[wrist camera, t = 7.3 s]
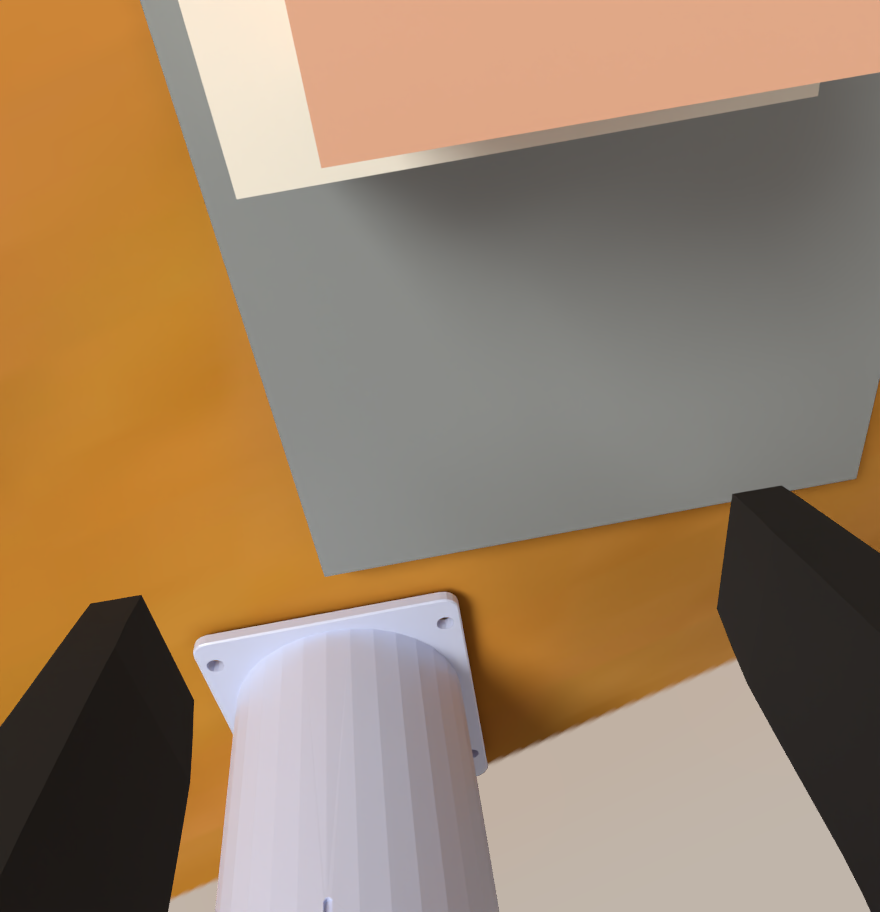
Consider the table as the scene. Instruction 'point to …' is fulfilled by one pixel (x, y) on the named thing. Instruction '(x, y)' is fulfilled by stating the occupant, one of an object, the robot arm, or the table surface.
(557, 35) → the orange brick
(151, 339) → the table surface
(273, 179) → the cream base brick
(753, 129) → the plate
